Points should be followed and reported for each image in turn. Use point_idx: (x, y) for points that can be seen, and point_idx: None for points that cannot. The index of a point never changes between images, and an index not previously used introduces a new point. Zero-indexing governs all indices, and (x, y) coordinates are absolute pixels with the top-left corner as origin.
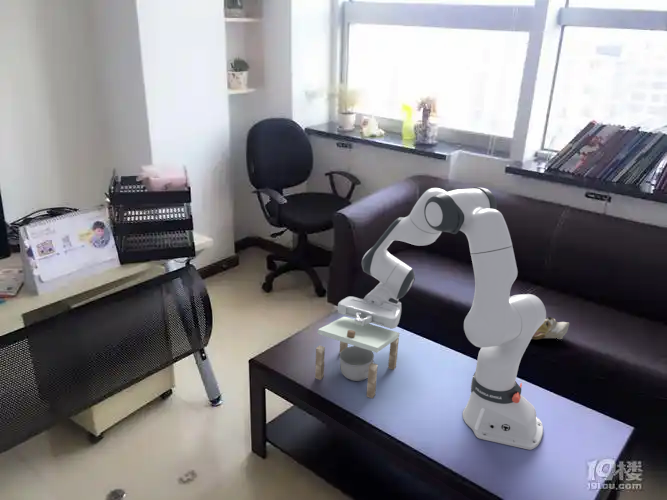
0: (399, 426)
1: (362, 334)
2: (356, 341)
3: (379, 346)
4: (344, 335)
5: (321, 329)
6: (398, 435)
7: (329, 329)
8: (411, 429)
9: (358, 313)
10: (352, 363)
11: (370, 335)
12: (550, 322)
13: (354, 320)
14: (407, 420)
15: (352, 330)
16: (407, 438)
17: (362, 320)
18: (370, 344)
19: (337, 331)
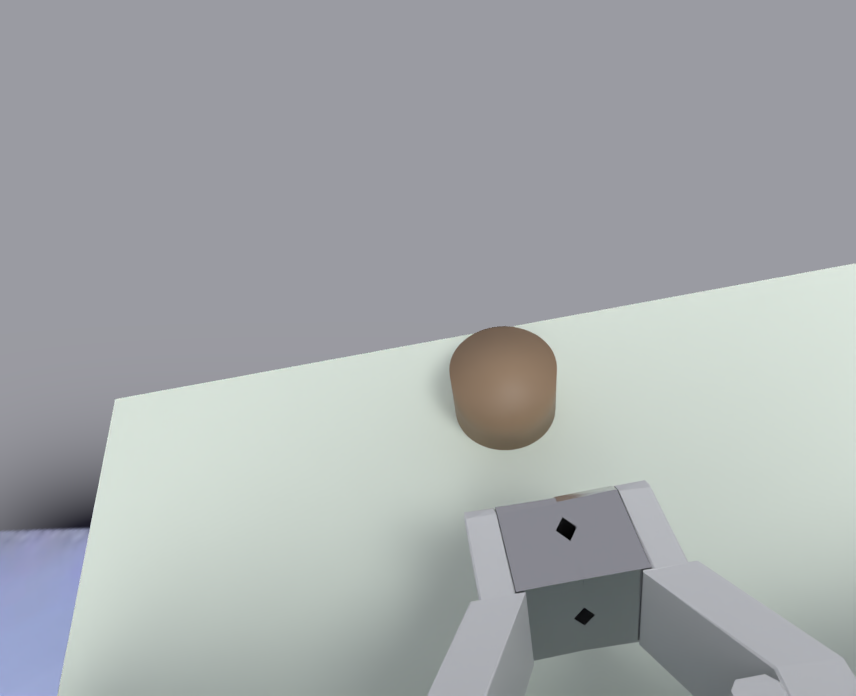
0: (74, 599)
1: (460, 617)
2: (371, 354)
3: (109, 450)
4: (565, 367)
5: (840, 286)
6: (74, 546)
7: (815, 361)
8: (4, 620)
9: (795, 688)
10: None
11: None
12: None
13: (640, 484)
14: (28, 668)
15: (521, 404)
16: (27, 557)
17: (497, 528)
18: (214, 410)
19: (715, 394)
